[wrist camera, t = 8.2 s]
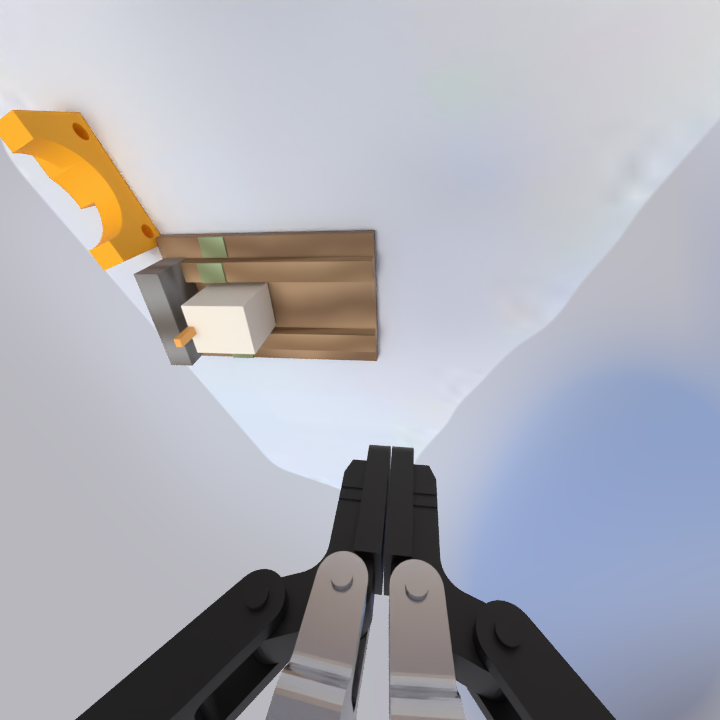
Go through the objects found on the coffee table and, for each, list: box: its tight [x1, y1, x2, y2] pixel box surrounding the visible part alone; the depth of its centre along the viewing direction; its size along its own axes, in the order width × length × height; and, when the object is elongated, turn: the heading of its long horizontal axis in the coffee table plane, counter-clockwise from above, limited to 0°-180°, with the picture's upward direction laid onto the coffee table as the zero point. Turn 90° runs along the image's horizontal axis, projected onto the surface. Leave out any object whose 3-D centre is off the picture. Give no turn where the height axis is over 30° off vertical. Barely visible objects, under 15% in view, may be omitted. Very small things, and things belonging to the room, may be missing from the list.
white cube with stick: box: [174, 282, 276, 354], centre depth 34 cm, size 5×6×8 cm
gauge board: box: [134, 230, 378, 365], centre depth 36 cm, size 14×22×6 cm, turn 93°
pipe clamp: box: [0, 110, 161, 271], centre depth 32 cm, size 12×4×6 cm, turn 22°
